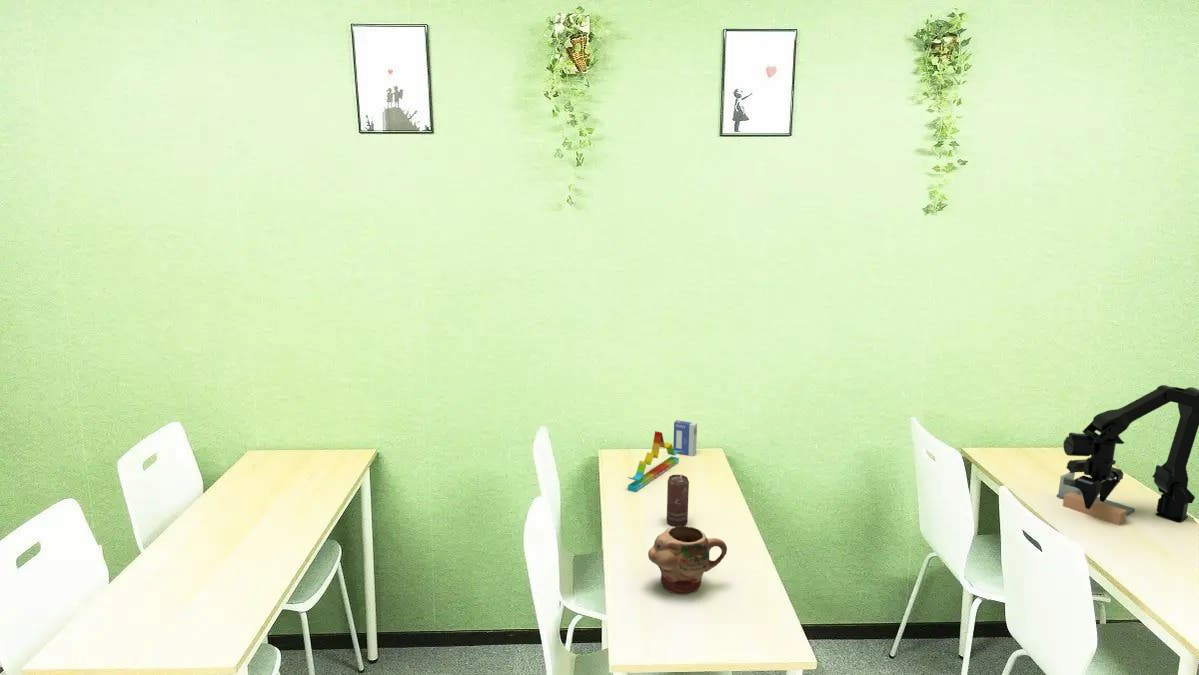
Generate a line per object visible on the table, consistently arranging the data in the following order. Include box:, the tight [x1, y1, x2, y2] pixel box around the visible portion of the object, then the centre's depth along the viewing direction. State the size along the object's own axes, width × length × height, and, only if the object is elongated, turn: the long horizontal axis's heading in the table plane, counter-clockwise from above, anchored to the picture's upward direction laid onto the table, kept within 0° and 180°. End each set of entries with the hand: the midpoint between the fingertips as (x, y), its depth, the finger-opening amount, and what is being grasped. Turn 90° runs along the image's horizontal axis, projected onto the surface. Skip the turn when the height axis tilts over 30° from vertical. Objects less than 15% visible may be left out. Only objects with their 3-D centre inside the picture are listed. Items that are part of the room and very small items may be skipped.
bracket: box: [1057, 471, 1082, 496], centre depth 257 cm, size 6×7×6 cm
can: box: [666, 474, 690, 527], centre depth 237 cm, size 6×6×14 cm
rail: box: [1062, 492, 1127, 526], centre depth 246 cm, size 16×4×4 cm, turn 35°
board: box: [1056, 493, 1136, 517], centre depth 253 cm, size 19×9×1 cm, turn 36°
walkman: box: [672, 419, 698, 457], centre depth 292 cm, size 8×3×12 cm, turn 64°
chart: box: [627, 431, 680, 493], centre depth 271 cm, size 30×3×15 cm, turn 148°
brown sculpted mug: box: [647, 525, 728, 595], centre depth 203 cm, size 20×12×14 cm, turn 104°
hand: (1094, 504), depth 245 cm, fingers open, 9 cm apart
